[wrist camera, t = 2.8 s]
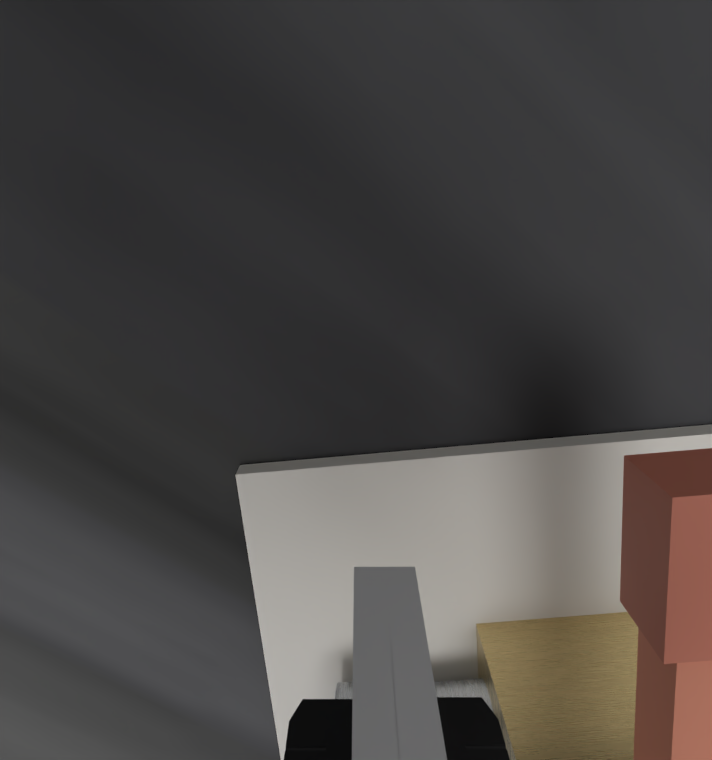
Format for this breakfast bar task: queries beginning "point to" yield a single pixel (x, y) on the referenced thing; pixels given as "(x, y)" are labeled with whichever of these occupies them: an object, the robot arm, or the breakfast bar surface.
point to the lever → (670, 599)
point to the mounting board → (435, 545)
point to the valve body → (555, 685)
